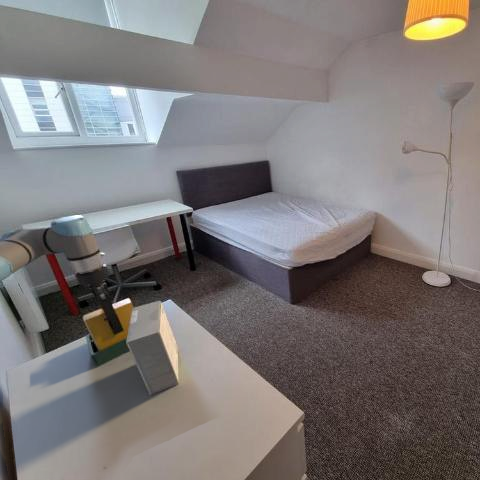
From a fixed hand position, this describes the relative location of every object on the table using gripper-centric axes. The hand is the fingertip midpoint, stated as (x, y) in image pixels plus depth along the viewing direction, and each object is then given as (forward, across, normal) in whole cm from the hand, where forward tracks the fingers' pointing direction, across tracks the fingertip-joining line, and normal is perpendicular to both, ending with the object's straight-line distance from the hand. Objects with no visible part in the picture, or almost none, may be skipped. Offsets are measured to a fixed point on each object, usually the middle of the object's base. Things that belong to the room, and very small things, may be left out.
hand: (117, 329), depth 89 cm
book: (+7, 0, 0) cm, 7 cm away
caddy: (+7, +2, 0) cm, 8 cm away
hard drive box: (+8, -21, -6) cm, 23 cm away
